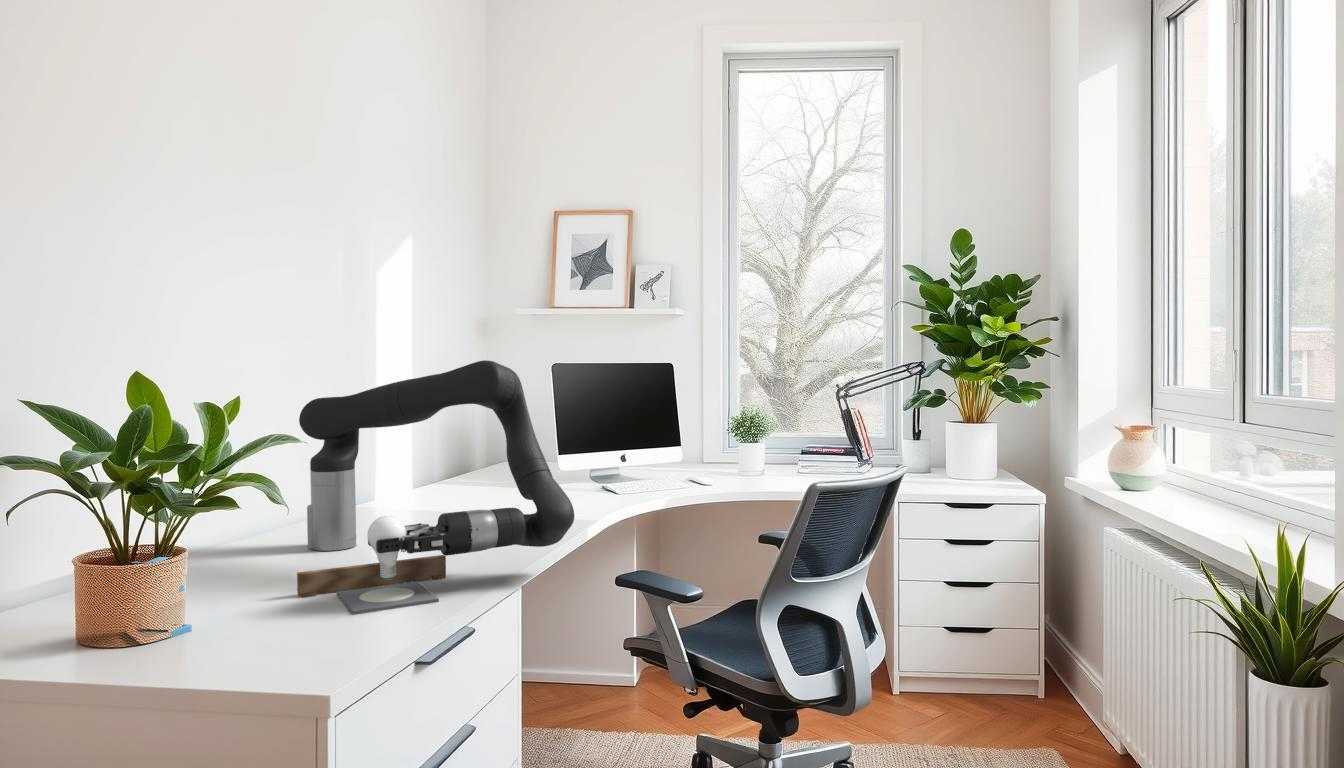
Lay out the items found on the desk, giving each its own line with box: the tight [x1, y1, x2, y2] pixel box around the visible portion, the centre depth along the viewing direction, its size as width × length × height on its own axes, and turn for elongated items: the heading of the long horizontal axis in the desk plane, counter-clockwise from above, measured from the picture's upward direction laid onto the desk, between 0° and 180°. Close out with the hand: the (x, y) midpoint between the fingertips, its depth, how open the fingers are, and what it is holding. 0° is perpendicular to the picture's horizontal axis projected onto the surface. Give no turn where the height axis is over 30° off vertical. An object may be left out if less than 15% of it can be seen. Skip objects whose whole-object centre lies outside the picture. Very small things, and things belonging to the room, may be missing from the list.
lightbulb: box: [367, 515, 406, 580], centre depth 154 cm, size 6×6×11 cm
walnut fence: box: [296, 554, 447, 599], centre depth 163 cm, size 26×3×4 cm, turn 121°
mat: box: [336, 581, 440, 615], centre depth 154 cm, size 14×14×1 cm
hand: (372, 543), depth 153 cm, fingers closed on lightbulb, 6 cm apart
